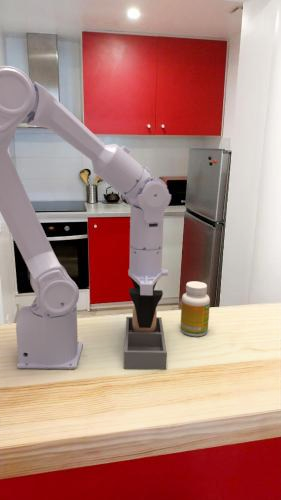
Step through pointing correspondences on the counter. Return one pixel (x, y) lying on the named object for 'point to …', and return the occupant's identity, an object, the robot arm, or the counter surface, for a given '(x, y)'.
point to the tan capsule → (136, 328)
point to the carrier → (145, 347)
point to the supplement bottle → (195, 309)
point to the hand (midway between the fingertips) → (144, 317)
